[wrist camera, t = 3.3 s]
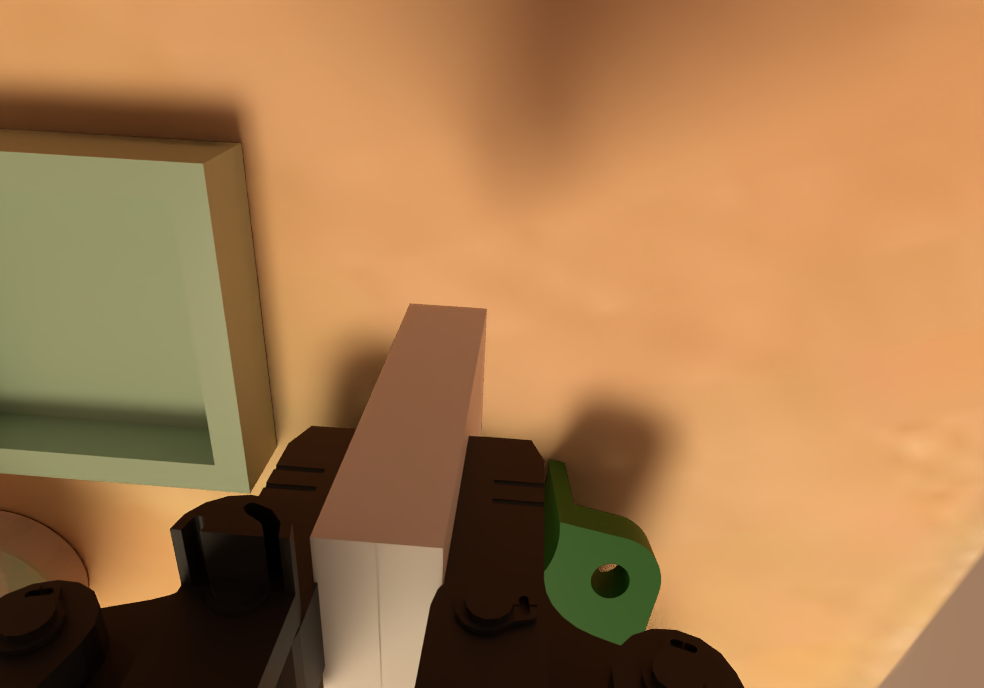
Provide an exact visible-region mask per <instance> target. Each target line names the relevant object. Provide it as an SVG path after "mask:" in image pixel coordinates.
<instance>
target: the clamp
mask: <svg viewBox="0 0 984 688" xmlns="http://www.w3.org/2000/svg"><path fill="white" fill-rule="evenodd" d="M604 564H617V566H616V567H615V568H614V569H612V570H610V571H606V572H600V571H599V570H598V569H597V568H598V567H600V566H602V565H604ZM544 582H545V588H546V593H547V595H548V597H549V599H550V601H551V603H552V605H553V606H554V607H555V608H556V610H557V611H558V612H559V613H560V614H561V615H562V617H564V618H565V619H566V620H568V621H569V622H570V623H572V624H573V625H574V626H575V627H577V628H579V629H581V630H583V631H585V632H587V633H589V634H591V635H594V636H596V637H599V638H602V639H604V640H607V641H610V642H612V643H615V644H618V645H620V646H621V645H622V644H623V643H624V642H625V641H626V640H627V639H628V638H630V637H631V636H632V635H634V634H637V633H640V632H644V631H645V629H646V626H647V623H648V621H649V618H650V615H651V612H652V610H653V607H654V604H655V601H656V599H657V596H658V593H659V590H660V585H661V573H660V569H659V566H658V563H657V561H656V558H655V556H654V553H653V551H652V548H651V546H650V544H649V541H648V539H647V537H646V535H645V533H644V532H643V531H642V529H641V528H640V527H639V526H638V525H637V524H635V523H634V522H632V521H631V520H629V519H627V518H625V517H622V516H619V515H615V514H611V513H607V512H603V511H599V510H595V509H591V508H587V507H583V506H579V505H575V504H574V502H573V498H572V494H571V489H570V485H569V481H568V476H567V472H566V468H565V463H563V462H559V461H555V460H551V459H549V467H548V473H547V478H546V481H545V484H544Z"/></svg>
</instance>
